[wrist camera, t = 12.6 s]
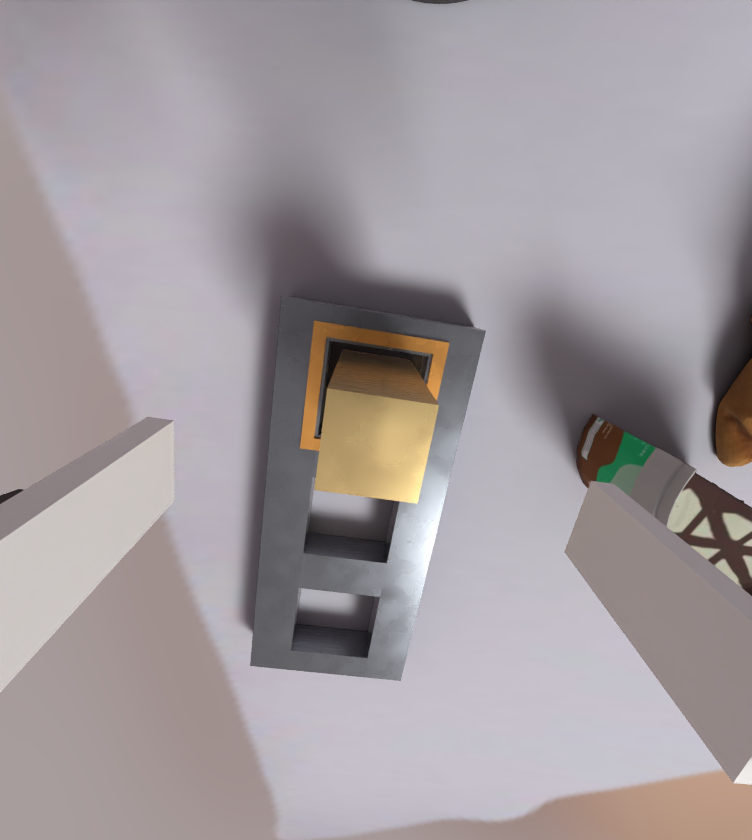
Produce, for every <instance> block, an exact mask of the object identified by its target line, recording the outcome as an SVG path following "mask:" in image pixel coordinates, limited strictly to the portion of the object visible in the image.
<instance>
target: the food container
mask: <svg viewBox="0 0 752 840" xmlns="http://www.w3.org/2000/svg"><path fill="white" fill-rule="evenodd" d="M577 468H578V471H579V473H580V476H581V479H582V481H583V483H584V484H585V486H586V487H587V488H589V485H590V483H591V481H597V482H604V483H611V484H614V485H616V486H617V487H618V488H619V489H621V490H622V491H623V492H624V493H626V494H627V495H628V496H629V497H630V498H632V499H633V500H634V501H635V502H637V503H638V504H639V505H640V506H642V507H643V508H644V509H645V510H646V511H648V512H649V513H650V514H651V515H653V516H654V517H655V518H656V519H658V520H659V521H660V522H661V523H662V524H664V525H665V526H666V527H667V528H669V529H670V530H671V531H672V532H674V533H675V534H676V535H677V536H678V537H680V538H681V539H682V540H683V541H685V542H686V543H687V544H688V545H690V546H691V547H692V548H693V549H694V550H696V551H697V552H698V553H699V554H701V555H702V556H703V557H704V558H706V559H707V560H708V561H709V562H710V563H712V564H713V565H714V566H715V567H717V568H718V569H719V570H720V571H722V572H723V573H724V574H725V575H726V576H728V577H729V578H730V579H731V580H733V581H734V582H735V583H736V584H738V585H739V586H740V587H741V588H742V589H744V590H745V591H746V592H747V593H749V594H750V595H751V596H752V508H751V507H750V506H748V505H747V504H745V503H744V501H742V500H739V499H737V498H735V497H734V496H732V495H731V494H729V493H728V492H726V491H725V490H723V489H721V488H720V487H718V486H717V485H716V484H714V483H711V482H710V481H708V480H706V479H705V478H703V477H701V476H700V475H698V474H696V471H697V469H695V468H693V467H691V466H690V465H688V464H686V463H684V462H683V461H681V460H679V459H677V458H675V457H674V456H672V455H670V454H668V453H666V452H665V451H663V450H661V449H659V448H657V447H654V446H652V445H650V444H648V443H647V442H645V441H643V440H641V439H639V438H637V437H635V436H634V435H632V434H630V433H628V432H626V431H624V430H622V429H620V428H619V427H617V426H615V425H613V424H611V423H609V422H607V421H605V420H604V419H602V418H600V417H598V416H596V415H594V414H593V415H592V416H591V418H590V419H589V421H588V423H587V424H586V426H585V427H584V429H583V432H582V435H581V438H580V441H579V444H578V447H577Z"/></svg>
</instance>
